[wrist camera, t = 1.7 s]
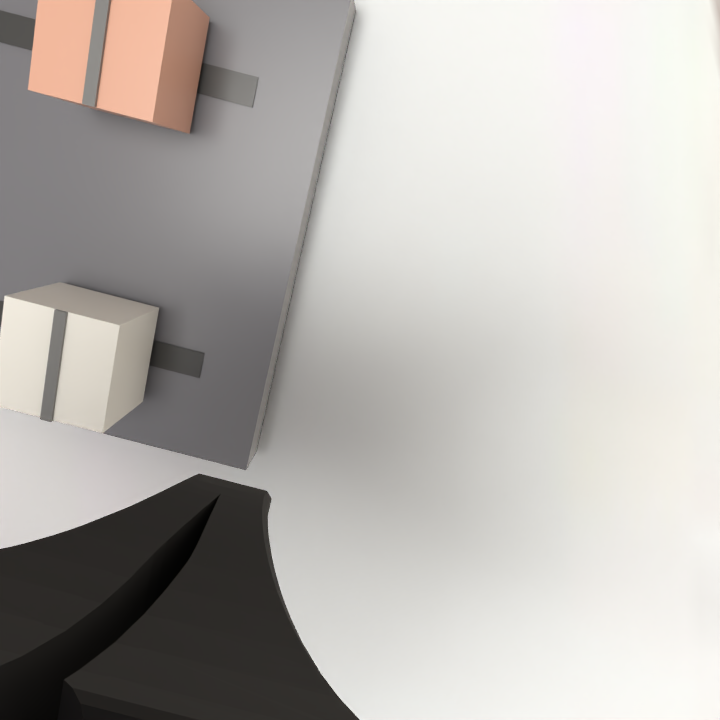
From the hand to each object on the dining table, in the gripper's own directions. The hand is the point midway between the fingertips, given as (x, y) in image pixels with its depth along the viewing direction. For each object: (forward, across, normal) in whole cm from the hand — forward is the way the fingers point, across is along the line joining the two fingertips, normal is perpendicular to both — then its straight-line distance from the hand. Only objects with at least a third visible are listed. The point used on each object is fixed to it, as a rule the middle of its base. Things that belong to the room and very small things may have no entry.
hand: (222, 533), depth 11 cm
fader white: (+8, +6, 0) cm, 10 cm away
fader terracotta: (+9, +6, -8) cm, 13 cm away
